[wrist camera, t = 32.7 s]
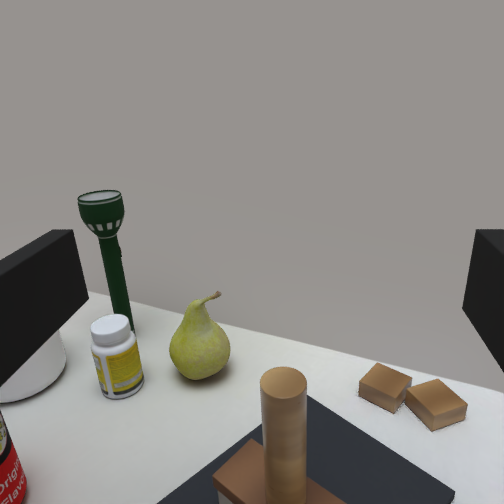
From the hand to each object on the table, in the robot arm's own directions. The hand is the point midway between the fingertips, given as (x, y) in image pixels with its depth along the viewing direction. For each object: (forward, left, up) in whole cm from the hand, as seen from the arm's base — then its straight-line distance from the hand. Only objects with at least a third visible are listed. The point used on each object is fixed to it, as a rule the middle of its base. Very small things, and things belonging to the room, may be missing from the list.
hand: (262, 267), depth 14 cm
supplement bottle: (-30, +5, -26) cm, 40 cm away
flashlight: (-39, +10, -26) cm, 48 cm away
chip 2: (-3, +25, -26) cm, 37 cm away
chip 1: (-8, +24, -26) cm, 36 cm away
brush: (-5, +6, -25) cm, 26 cm away
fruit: (-25, +13, -26) cm, 38 cm away
